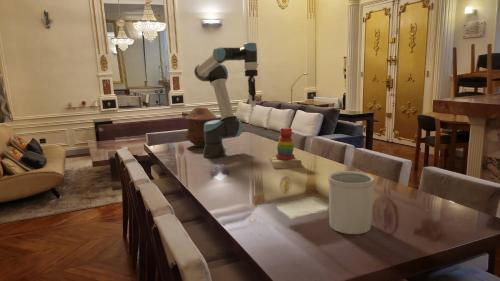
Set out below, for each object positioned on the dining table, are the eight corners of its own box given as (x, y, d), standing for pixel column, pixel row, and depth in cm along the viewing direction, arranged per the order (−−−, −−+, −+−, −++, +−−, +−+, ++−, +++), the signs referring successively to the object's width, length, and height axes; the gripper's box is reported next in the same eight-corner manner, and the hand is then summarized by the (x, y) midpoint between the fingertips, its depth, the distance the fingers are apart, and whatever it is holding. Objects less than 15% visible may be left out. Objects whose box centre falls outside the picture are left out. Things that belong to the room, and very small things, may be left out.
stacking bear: (294, 156, 215) (295, 126, 211) (294, 160, 205) (295, 130, 201) (276, 155, 216) (276, 126, 212) (275, 160, 206) (276, 129, 202)
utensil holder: (364, 216, 131) (365, 169, 128) (380, 234, 116) (381, 181, 113) (324, 218, 130) (323, 171, 127) (335, 236, 116) (334, 184, 113)
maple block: (269, 162, 219) (269, 156, 218) (295, 161, 220) (295, 154, 219) (273, 169, 203) (273, 162, 202) (301, 167, 204) (301, 160, 203)
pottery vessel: (183, 144, 287) (180, 107, 281) (215, 141, 294) (212, 105, 289) (188, 150, 262) (185, 109, 257) (222, 147, 270) (220, 107, 264)
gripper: (259, 69, 202) (260, 106, 206) (255, 69, 227) (256, 103, 231) (246, 69, 202) (247, 107, 206) (243, 69, 226) (244, 103, 230)
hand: (252, 105), depth 218 cm, fingers open, 13 cm apart
